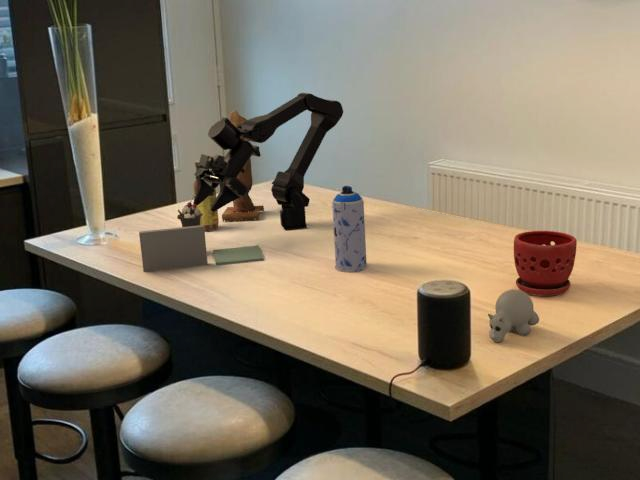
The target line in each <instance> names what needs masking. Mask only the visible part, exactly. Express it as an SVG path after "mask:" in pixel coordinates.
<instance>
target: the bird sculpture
mask: <svg viewBox="0 0 640 480" xmlns="http://www.w3.org/2000/svg"><path fill="white" fill-rule="evenodd" d="M228 119H229V120H230V121H231V123H232V124H233V125H234V126H235V127H238V126H241V125H242V124H243V123H244V122H245V121H246V120H248V118H245V117H243V116H242V115H240V114H239V112H238V111H237V110H235V109H234V110H232V111H231V112H230V113H229V114H228ZM240 138H241V139H242V140H244V141H245V139H244V138H243V137H240ZM243 169H244V170H245V172H244V173H243V174H242V173H240V174H239V175H238V177H237V178H238V179H239V180H240V181H241V182H242V183H244V184H245V185H246V186H247V193H246V194H245V196H244V197H241V196H240V198H239V199H236V200H234V201H232V204H233V206H227V207H226V209H225V210H224V212H223V213H221V219H222V222H225V223H227V222H232V223H233V222H249V221H250V222H251V221H254V222H255V221H259V219H260V216H259V215H260V212H265V208H264V205H263V204H262V205H254V203H253V200H252V198H251V196H250V195H249V193H250V191H251V190H252V187H253V174H252V172H253V171H252V159H251V158H250V159H249V160H248V162H247V163H246V165H245V166H244V168H243Z"/></svg>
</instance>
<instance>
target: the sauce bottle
mask: <svg viewBox="0 0 640 480" xmlns="http://www.w3.org/2000/svg"><path fill="white" fill-rule="evenodd" d="M199 161H200V159H199V160H198V159H197V160H196V161H194V166H195V170H196V171H197V170H198V169H200V168H204V169H208V170H209V171H210V169H209V168H206V167H203V166H202V167H201V166H198V164H199ZM196 171H195V172H196ZM197 188H198V182H197V180H196V179H195V181H194V182H193V193H194V194H193V197H194V196H195V195H196V192H197ZM216 188H217V187H216ZM216 188H215V191H214V192H213V193H212V194H211V195H209V196H208V197H207V198H206V199H205V200H204V201H202V202H201V203H200V204H199V205H197V207H196V208H198V209H199V210H200V212H201V213H202V214H203V215H202V216H201V219H200V225H204V230H205V232H211V231H214V230H217V229H219V223H220V222H219V213H218V210H219V209H218V210H216V211H215V212H212V211H211V210H210V209H211V207H212V205H213V203H214V201H215V199H216V198H217V191H216ZM213 189H214V188H213ZM194 198H195V197H194ZM194 198H193V199H194Z"/></svg>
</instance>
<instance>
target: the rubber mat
mask: <svg viewBox="0 0 640 480" xmlns="http://www.w3.org/2000/svg"><path fill="white" fill-rule="evenodd" d="M212 252H213V258H214V262H215V266H225V265H232V264H242V263H250V262H251V263H252V262H262V261H264V257H263V256H264V255H263V254H262V250H261V248H260V246H259V245H258V244H257V245H248V246H238V247H229V248H219V249H213V250H212Z"/></svg>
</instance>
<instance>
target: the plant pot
mask: <svg viewBox="0 0 640 480" xmlns="http://www.w3.org/2000/svg"><path fill="white" fill-rule="evenodd" d="M551 242H553V243H554V244H551ZM577 244H578V243H577V238H575V236H574V235H572V234H567V233H564V232H561V231H560V232H559V231H554V230H553V231H552V230H531V231H530V230H529V231H524V232H521V233H518V234H516V235H515V236H514V239H513V260H514V265H515V270H516V272H517V275H518V278H517V279H516V280H515V284H516V287H517V288H518V290H521V291H523V292H526V293H527V295H529V296H540V297H550V296H551V297H552V296H557V295H560V294H561V295H562V294H563V293H565V292H566V291H568V290H569V288H570V287H571V281H570V276H571V274H572V271H573V270H574V266H575V260H576V255H577Z"/></svg>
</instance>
